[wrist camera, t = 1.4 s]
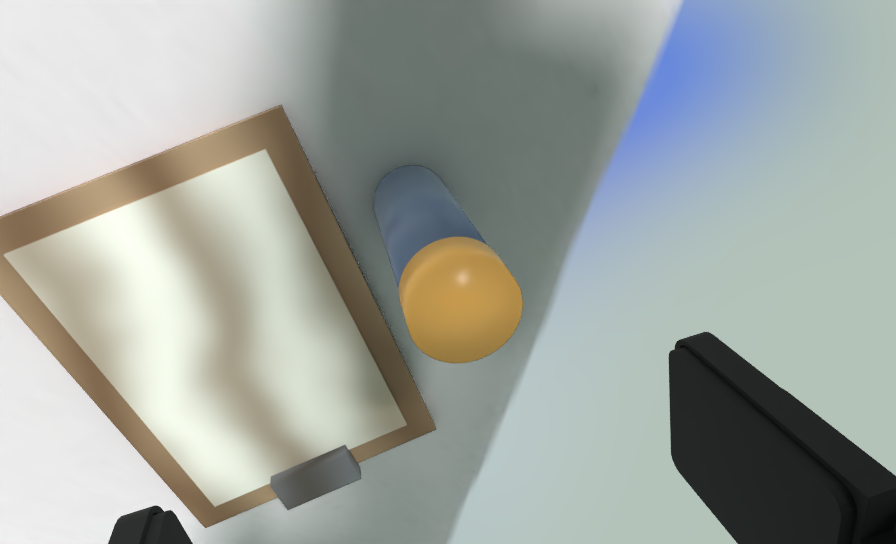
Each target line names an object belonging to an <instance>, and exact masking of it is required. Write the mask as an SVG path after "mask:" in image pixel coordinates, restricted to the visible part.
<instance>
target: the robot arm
mask: <svg viewBox="0 0 896 544" xmlns="http://www.w3.org/2000/svg"><path fill="white" fill-rule="evenodd" d="M669 383H670V384H669V386H670V427H671V428H670V429H671V455H672V459H673V462H674V464H675V466H676V468H677V470H678V471H679V473H680V474H681V475H682V476H683V477H684V479H685V480H686V481H687V482H688V484H689V485H690V486H691V487H692V488H693V490H694V491H695V492H696V493H697V495H698V496H699V497H700V498H701V499H702V501H703V502H704V503H705V504H706V506H707V507H708V508H709V509H710V510H711V512H712V513H713V514H714V515H715V516H716V518H717V519H718V520H719V521H720V523H721V524H722V525H723V526H724V527H725V529H726V530H727V531H728V532H729V534H730V535H731V536H732V537H733V538H734V540H735V541H736V542H737V543H738V544H896V476H895V475H893V474H892V473H891V472H889V471H888V470H887V469H886V468H885V467H883V466H882V465H881V464H880V463H878V462H877V461H876V460H874V459H873V458H872V457H870V456H869V455H868V454H867V453H865V452H864V451H863V450H861V449H860V448H859V447H858V446H856V445H855V444H854V443H852V442H851V441H850V440H848V439H847V438H846V437H845V436H844V435H842V434H841V433H839V432H838V431H837V430H836V429H834V428H833V427H832V426H831V425H829V424H828V423H827V422H826V421H824V420H823V419H822V418H821V417H819V416H818V415H817V414H815V413H814V412H813V411H812V410H810V409H809V408H807V407H806V406H805V405H804V404H803V403H801V402H800V401H799V400H797V399H796V398H795V397H794V396H792V395H791V394H790V393H788V392H787V391H785V390H784V389H782V388H780V387H779V386H778V385H777V384H775V383H774V382H773V381H771V380H770V379H769V378H768V377H766V376H765V375H764V374H762V373H761V372H760V371H759V370H757V369H756V368H755V367H754V366H752V365H751V364H750V363H748V362H747V361H746V360H745V359H743V358H742V357H741V356H739V355H738V354H737V353H736V352H734V351H733V350H732V349H731V348H729V347H728V346H727V345H726V344H724V343H723V342H722V341H720V340H719V339H718V338H717V337H715V336H714V335H713V334H711V333H709V332H703V333H700V334H697V335H693V336H690V337H687V338H684V339H681V340H679V341H677V343H676V345H675V350H672V351H670V353H669ZM108 544H193V543H192V542H191V540H190V538H189V537H188V535H187V533H186V532H185V530H184V528H183V527H182V525H181V523H180V522H179V520H178V518H177V516H176V515H175V514H174V512H173V511H171V510H169V511H165V512H164V511H163V510H162V509H161V507H159V506H152V507H149V508H146V509H143V510H140V511H136V512H133V513H130V514H127V515H124V516H121V517H120V518H119V519H118V520H117V522H116V524H115V526H114V529H113V532H112V535H111V537H110V540H109V543H108Z"/></svg>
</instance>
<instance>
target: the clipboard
mask: <svg viewBox="0 0 896 544" xmlns="http://www.w3.org/2000/svg"><path fill="white" fill-rule="evenodd" d="M0 295H1V296H2V297H3V299H4V300H5V301H6V302H7V303H8V304H9V305H10V307H11V308H12V309H13V310H14V311H15V312H16V313H17V315H18V316H19V317H20V318H21V319H22V320H23V321H24V323H25V324H26V325H27V326H28V327H29V328H30V329H31V330H32V332H33V333H34V334H35V335H36V336H37V337H38V338H39V340H40V341H41V342H42V343H43V344H44V345H45V346H46V348H47V349H48V350H49V351H50V352H51V353H52V354H53V356H54V357H55V358H56V359H57V360H58V361H59V362H60V363H61V365H62V366H63V367H64V368H65V369H66V370H67V371H68V373H69V374H70V375H71V376H72V377H73V378H74V379H75V381H76V382H77V383H78V384H79V385H80V386H81V387H82V389H83V390H84V391H85V392H86V393H87V394H88V395H89V396H90V398H91V399H92V400H93V401H94V402H95V403H96V404H97V406H98V407H99V408H100V409H101V410H102V411H103V412H104V414H105V415H106V416H107V417H108V418H109V419H110V420H111V422H112V423H113V424H114V425H115V426H116V427H117V428H118V429H119V431H120V432H121V433H122V434H123V435H124V436H125V437H126V439H127V440H128V441H129V442H130V443H131V444H132V445H133V447H134V448H135V449H136V450H137V451H138V452H139V453H140V455H141V456H142V457H143V458H144V459H145V460H146V461H147V462H148V464H149V465H150V466H151V467H152V468H153V469H154V470H155V472H156V473H157V474H158V475H159V476H160V477H161V478H162V480H163V481H164V482H165V483H166V484H167V485H168V486H169V488H170V489H171V490H172V491H173V492H174V493H175V494H176V495H177V497H178V498H179V499H180V500H181V501H182V502H183V503H184V505H185V506H186V507H187V508H188V509H189V510H190V511H191V513H192V514H193V515H194V516H195V517H196V518H197V519H198V521H199V522H200V523H201V524H202V525H203V526H204V527H205V528H207V527H209V526H212V525H214V524H216V523H219V522H221V521H223V520H226V519H228V518H230V517H233V516H235V515H237V514H240V513H242V512H244V511H247V510H249V509H251V508H254V507H256V506H258V505H261V504H263V503H265V502H268V501H270V500H272V499H275V498H277V497H279V499H280V500H281V501H282V503H283V504H284V506H285V507H286V508H287V510H289V509H292V508H294V507H296V506H299V505H301V504H303V503H306V502H308V501H310V500H313V499H315V498H317V497H320V496H322V495H324V494H327V493H329V492H331V491H334V490H336V489H338V488H341V487H343V486H345V485H348V484H350V483H352V482H355V481H357V480H359V479H361V471H360V466H359V465H358V463H359V462H361V461H364V460H366V459H368V458H371V457H373V456H375V455H378V454H380V453H382V452H385V451H387V450H389V449H392V448H394V447H396V446H399V445H401V444H404V443H406V442H408V441H411V440H413V439H415V438H418V437H420V436H422V435H425V434H427V433H429V432H432V431H434V430H436V428H435V424H434V422H433V420H432V418H431V416H430V414H429V411H428V409H427V407H426V405H425V403H424V401H423V399H422V397H421V395H420V393H419V391H418V389H417V386H416V384H415V382H414V380H413V378H412V376H411V374H410V372H409V370H408V368H407V366H406V364H405V362H404V359H403V357H402V355H401V353H400V351H399V349H398V347H397V345H396V343H395V341H394V339H393V337H392V334H391V332H390V330H389V328H388V326H387V324H386V322H385V320H384V318H383V316H382V314H381V312H380V309H379V307H378V305H377V303H376V301H375V299H374V297H373V295H372V293H371V291H370V289H369V287H368V284H367V282H366V280H365V278H364V276H363V274H362V272H361V270H360V268H359V266H358V264H357V262H356V259H355V257H354V255H353V253H352V251H351V249H350V247H349V245H348V243H347V241H346V239H345V237H344V235H343V232H342V230H341V228H340V226H339V224H338V222H337V220H336V218H335V216H334V214H333V212H332V210H331V207H330V205H329V203H328V201H327V199H326V197H325V195H324V193H323V191H322V189H321V187H320V185H319V182H318V180H317V178H316V176H315V174H314V172H313V170H312V168H311V166H310V164H309V162H308V160H307V157H306V155H305V153H304V151H303V149H302V147H301V145H300V143H299V141H298V139H297V137H296V135H295V132H294V130H293V128H292V126H291V124H290V122H289V120H288V118H287V116H286V114H285V112H284V110H283V107H282V105H279V106H277V107H274V108H272V109H269V110H267V111H264V112H262V113H259V114H257V115H254V116H252V117H249V118H247V119H244V120H242V121H239V122H236V123H234V124H231V125H229V126H226V127H224V128H221V129H219V130H216V131H214V132H211V133H209V134H206V135H204V136H201V137H199V138H196V139H194V140H191V141H189V142H186V143H184V144H181V145H179V146H176V147H174V148H171V149H169V150H166V151H164V152H161V153H159V154H156V155H154V156H151V157H149V158H146V159H144V160H141V161H139V162H136V163H133V164H131V165H128V166H126V167H123V168H121V169H118V170H116V171H113V172H111V173H108V174H106V175H103V176H101V177H98V178H96V179H93V180H91V181H88V182H86V183H83V184H81V185H78V186H76V187H73V188H71V189H68V190H66V191H63V192H61V193H58V194H56V195H53V196H51V197H48V198H46V199H43V200H41V201H38V202H35V203H33V204H30V205H28V206H25V207H23V208H20V209H18V210H15V211H13V212H10V213H8V214H5V215H3V216H0Z"/></svg>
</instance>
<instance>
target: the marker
mask: <svg viewBox="0 0 896 544" xmlns="http://www.w3.org/2000/svg"><path fill="white" fill-rule="evenodd" d="M374 210H375V214H376V217H377V221H378V224H379V227H380V230H381V233H382V237H383V240H384V243H385V246H386V250H387V253H388V256H389V259H390V262H391V266H392V269H393V272H394V275H395V279H396V282H397V285H398V288H399V299H400V304H401V307H402V310H403V314H404V317H405V320H406V324H407V327H408V330H409V333H410V336H411V338H412V340H413V341H414V343H415V344H416V346H417V347H418V348H419V349H420V350H421V351H422V352H424V353H425V354H426V355H428V356H430V357H432V358H434V359H436V360H439V361H443V362H447V363H466V362H471V361H475V360H478V359H481V358H484V357H486V356H488V355H490V354H491V353H493V352H495V351H496V350H498V349H499V348H500V347H501V346H503V345H504V344H505V343H506V342H507V341H508V339H509V338H510V337H511V336H512V334H513V333H514V331H515V330H516V328H517V326H518V324H519V321H520V318H521V314H522V308H523V300H522V294H521V290H520V288H519V285H518V283H517V282H516V280H515V278H514V277H513V276H512V274H511V273H510V271H509V270H508V269H507V267H506V266H505V265H504V263H503V262H502V260H501V259H500V258H499V256H498V255H497V254H496V253H495V251H494V250H493V249H492V248H490V247H489V246H488V245H487V244H486V242H485V241H484V240H483V238H482V237H481V235H480V234H479V233H478V231H477V230H476V228H475V227H474V225H473V224H472V223H471V221H470V220H469V218H468V217H467V216H466V214H465V213H464V211H463V210H462V209H461V207H460V206H459V204H458V203H457V201H456V200H455V199H454V197H453V196H452V194H451V193H450V192H449V190H448V189H447V187H446V186H445V185H444V183H443V182H442V180H441V179H440V178H439V177H438V176H437V175H436V174H435V173H434V172H433V171H431V170H429V169H427V168H425V167H421V166H415V165H409V166H403V167H400V168H397V169H395V170H393V171H391V172H390V173H388V174H387V175H386V176H385V177H384V178H383V179H382V180H381V182H380V183H379V185H378V186H377V188H376V191H375V195H374Z"/></svg>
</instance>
